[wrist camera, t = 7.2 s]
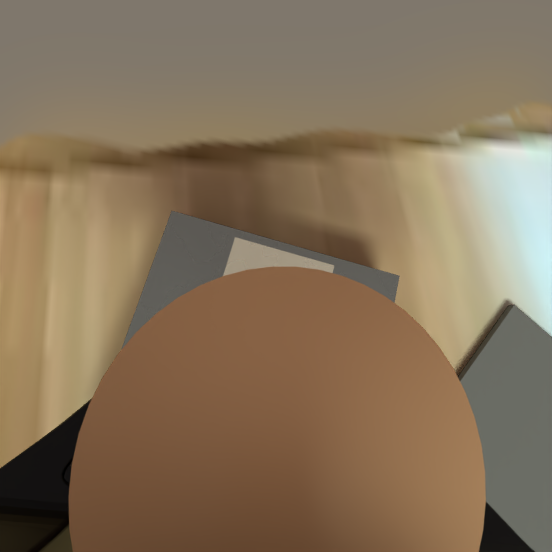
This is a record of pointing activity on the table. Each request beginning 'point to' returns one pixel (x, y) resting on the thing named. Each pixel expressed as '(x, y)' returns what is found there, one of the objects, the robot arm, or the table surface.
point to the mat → (515, 423)
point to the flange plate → (230, 263)
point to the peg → (279, 428)
